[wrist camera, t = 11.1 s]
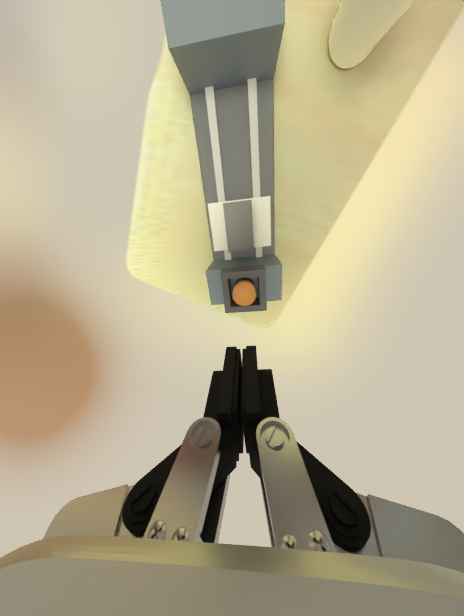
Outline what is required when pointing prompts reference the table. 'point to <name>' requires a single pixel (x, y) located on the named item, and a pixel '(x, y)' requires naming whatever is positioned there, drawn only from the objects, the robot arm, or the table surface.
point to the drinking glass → (362, 28)
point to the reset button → (244, 291)
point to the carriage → (240, 224)
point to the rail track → (232, 120)
